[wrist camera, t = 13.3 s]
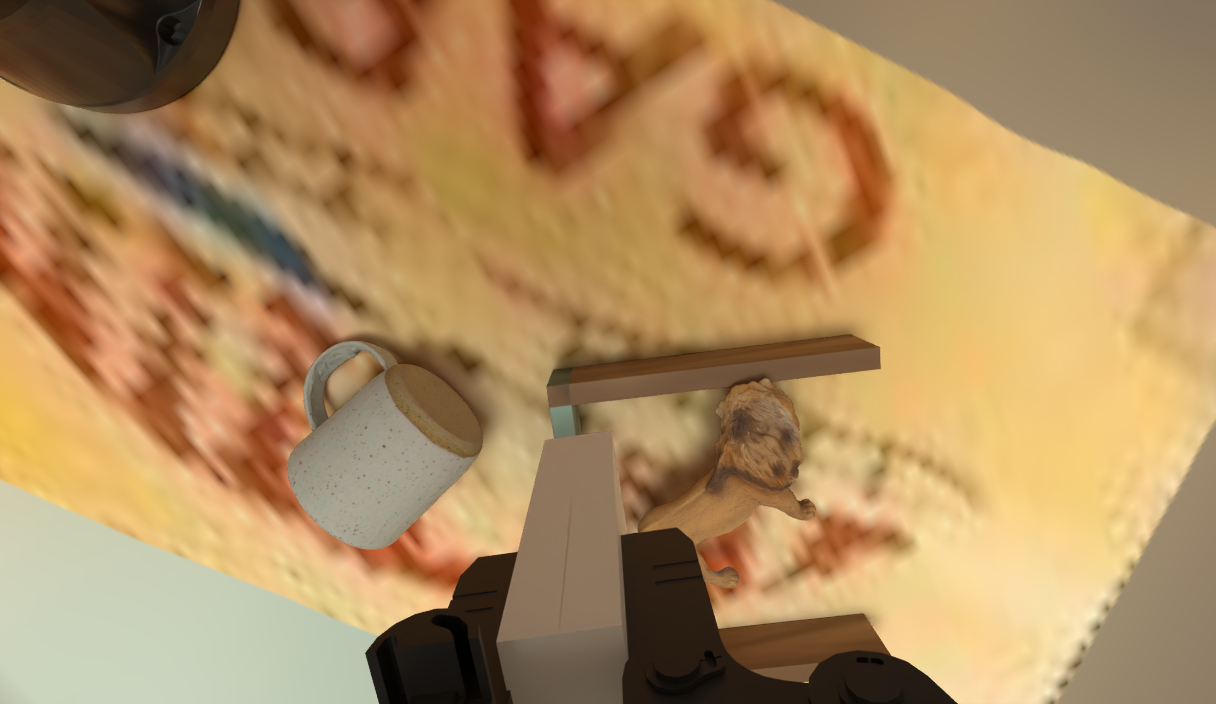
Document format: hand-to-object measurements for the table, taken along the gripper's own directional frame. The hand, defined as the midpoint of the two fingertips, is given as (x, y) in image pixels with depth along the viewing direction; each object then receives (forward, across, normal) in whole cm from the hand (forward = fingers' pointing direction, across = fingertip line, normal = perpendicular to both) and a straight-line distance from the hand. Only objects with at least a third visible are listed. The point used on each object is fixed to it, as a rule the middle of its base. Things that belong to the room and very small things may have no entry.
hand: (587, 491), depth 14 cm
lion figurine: (+22, +8, -14) cm, 27 cm away
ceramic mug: (+24, -13, -4) cm, 27 cm away
